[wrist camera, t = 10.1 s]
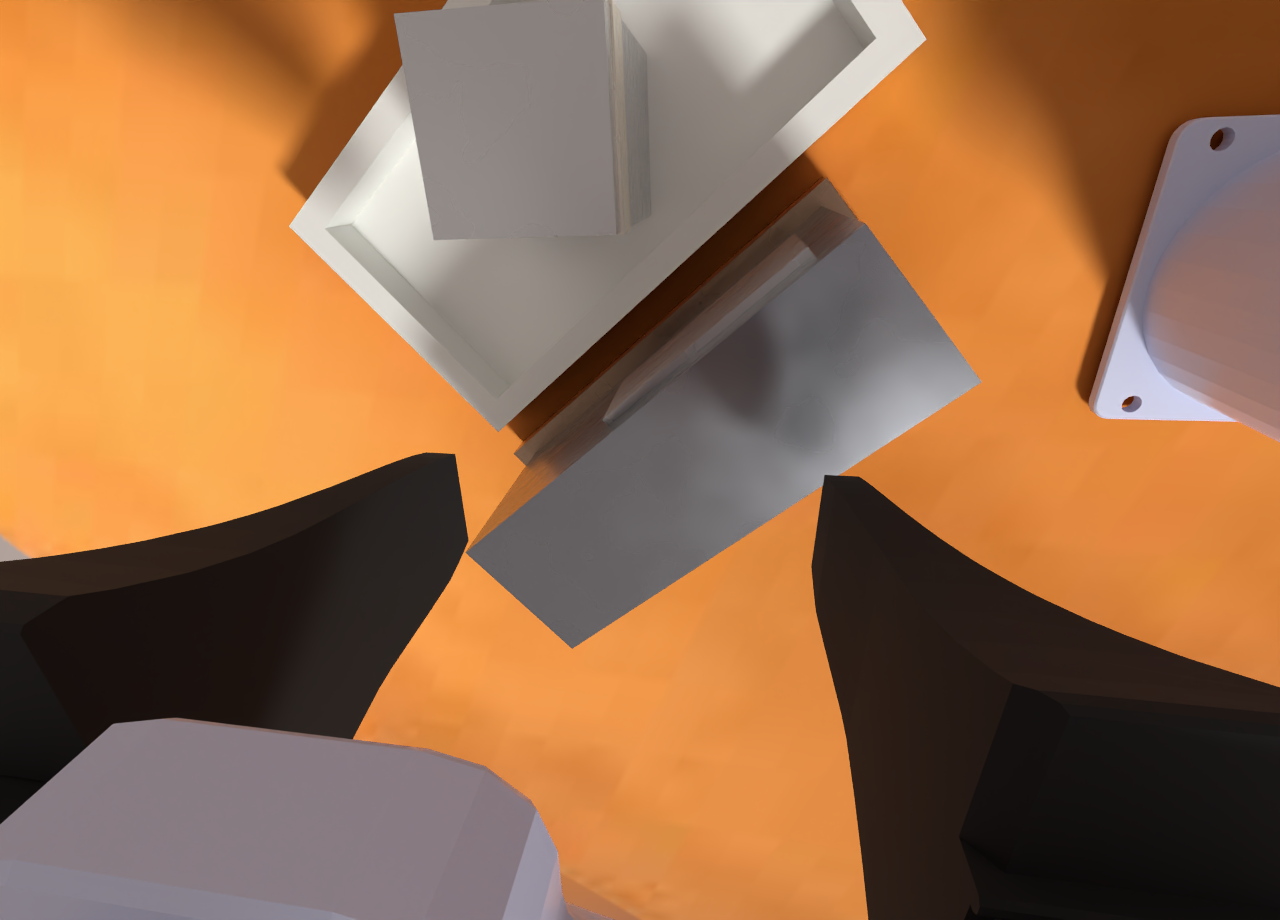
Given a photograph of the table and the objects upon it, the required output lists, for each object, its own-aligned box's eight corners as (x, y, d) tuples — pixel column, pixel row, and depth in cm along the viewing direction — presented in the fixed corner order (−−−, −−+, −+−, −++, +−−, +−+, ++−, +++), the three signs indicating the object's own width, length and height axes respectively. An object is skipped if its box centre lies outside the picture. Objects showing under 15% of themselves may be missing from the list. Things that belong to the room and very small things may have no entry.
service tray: (690, -277, 14) (684, -336, 12) (906, 52, 16) (926, 39, 14) (325, 221, 20) (289, 226, 18) (515, 412, 22) (498, 432, 20)
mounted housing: (821, 177, 17) (873, 181, 11) (920, 311, 18) (1019, 384, 12) (522, 442, 22) (439, 549, 16) (615, 533, 23) (572, 667, 17)
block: (648, 51, 16) (606, -9, 11) (653, 216, 18) (618, 237, 12) (500, 62, 17) (390, 10, 11) (519, 221, 18) (431, 242, 13)
